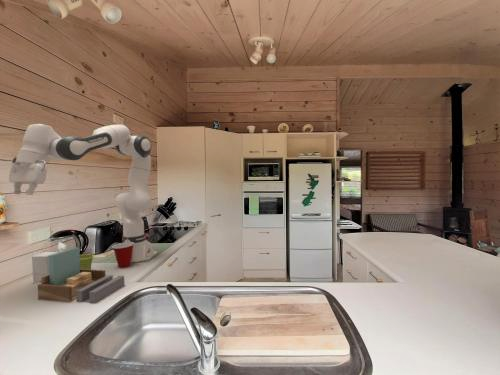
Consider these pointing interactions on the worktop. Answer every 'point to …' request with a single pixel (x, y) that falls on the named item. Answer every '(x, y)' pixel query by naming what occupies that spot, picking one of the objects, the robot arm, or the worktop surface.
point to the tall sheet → (63, 266)
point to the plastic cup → (123, 253)
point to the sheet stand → (99, 289)
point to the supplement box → (40, 265)
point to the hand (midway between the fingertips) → (22, 194)
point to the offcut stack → (79, 281)
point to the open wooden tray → (62, 288)
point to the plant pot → (86, 261)
